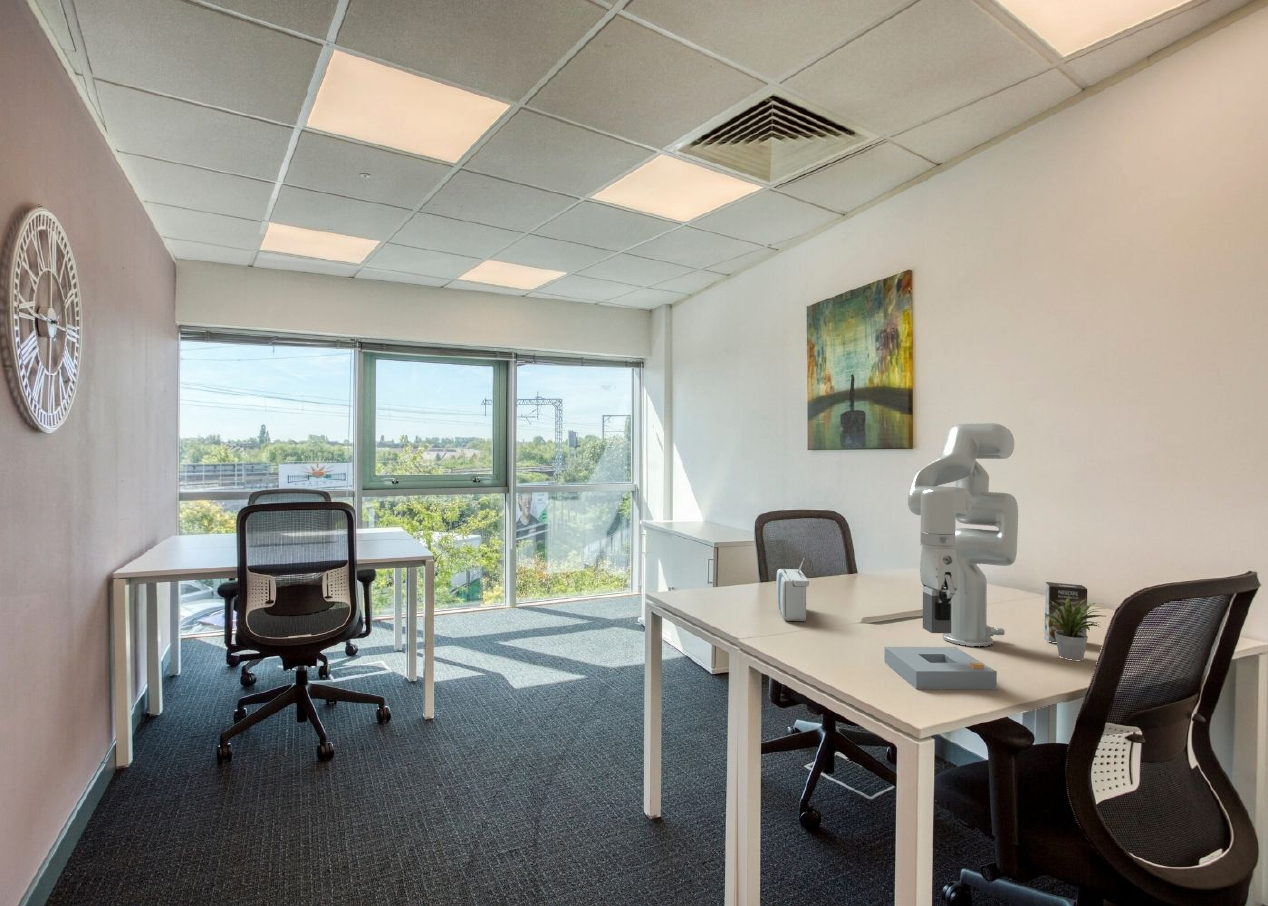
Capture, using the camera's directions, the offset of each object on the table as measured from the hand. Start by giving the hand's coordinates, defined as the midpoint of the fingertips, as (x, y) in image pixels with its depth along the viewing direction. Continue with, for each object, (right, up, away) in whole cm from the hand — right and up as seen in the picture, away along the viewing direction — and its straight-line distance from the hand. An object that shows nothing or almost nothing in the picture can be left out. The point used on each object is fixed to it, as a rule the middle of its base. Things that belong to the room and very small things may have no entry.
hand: (937, 616), depth 151 cm
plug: (0, -3, 0) cm, 3 cm away
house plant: (+40, -14, +12) cm, 44 cm away
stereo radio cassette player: (-20, -14, +57) cm, 62 cm away
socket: (0, -14, 0) cm, 14 cm away
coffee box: (+49, -14, +27) cm, 58 cm away
